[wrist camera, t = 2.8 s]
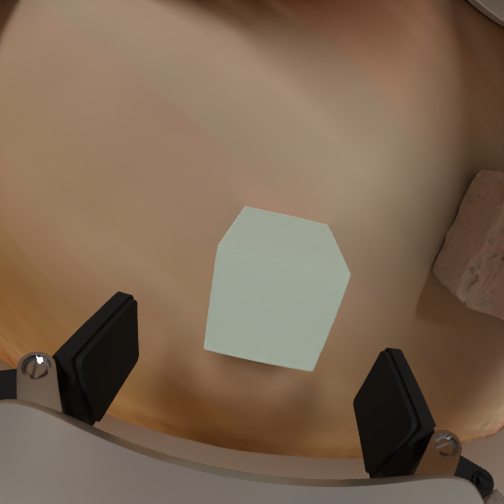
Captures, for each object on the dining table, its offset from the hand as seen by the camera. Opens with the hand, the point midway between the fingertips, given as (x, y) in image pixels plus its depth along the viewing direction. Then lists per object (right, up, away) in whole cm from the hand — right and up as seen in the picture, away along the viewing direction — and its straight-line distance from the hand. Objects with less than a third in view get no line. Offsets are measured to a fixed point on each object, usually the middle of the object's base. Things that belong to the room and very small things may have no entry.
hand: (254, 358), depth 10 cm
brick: (+21, +3, +6) cm, 22 cm away
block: (+2, +4, +8) cm, 9 cm away
